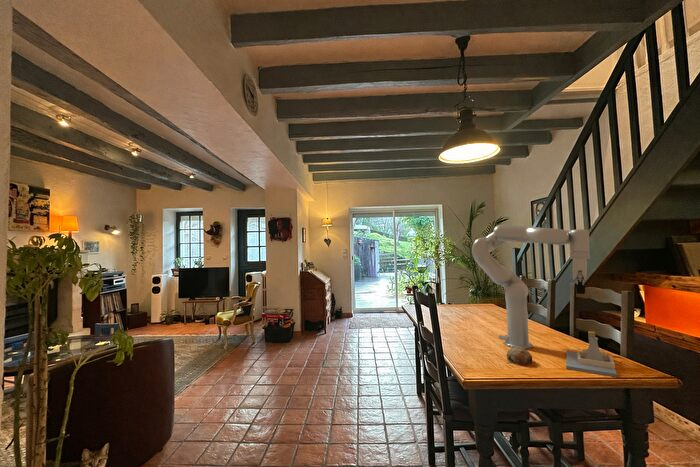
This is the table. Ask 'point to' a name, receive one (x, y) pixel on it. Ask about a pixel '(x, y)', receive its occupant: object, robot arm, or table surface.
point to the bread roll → (519, 356)
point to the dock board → (590, 363)
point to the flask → (593, 350)
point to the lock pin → (591, 334)
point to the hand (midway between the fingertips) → (580, 292)
